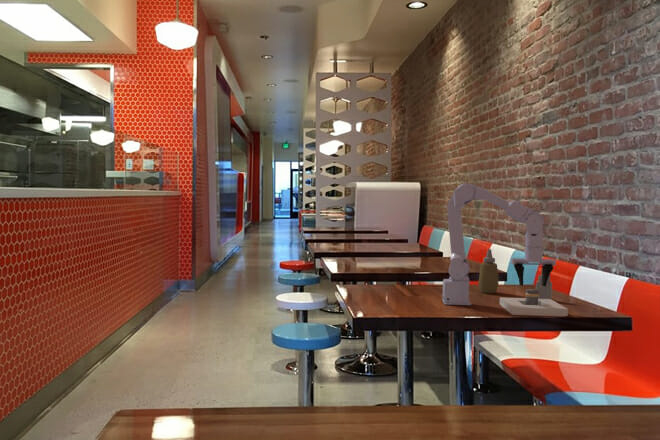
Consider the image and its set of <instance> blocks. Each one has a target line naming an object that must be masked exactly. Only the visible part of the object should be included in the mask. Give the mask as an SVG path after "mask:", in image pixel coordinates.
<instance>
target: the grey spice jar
mask: <svg viewBox="0 0 660 440" xmlns="http://www.w3.org/2000/svg"><path fill="white" fill-rule="evenodd" d="M538 297H539V293H538V290H536V289H532V288H531V289H530V288H529V289H528V288H526V289H525V298H526V305H538Z"/></svg>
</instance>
